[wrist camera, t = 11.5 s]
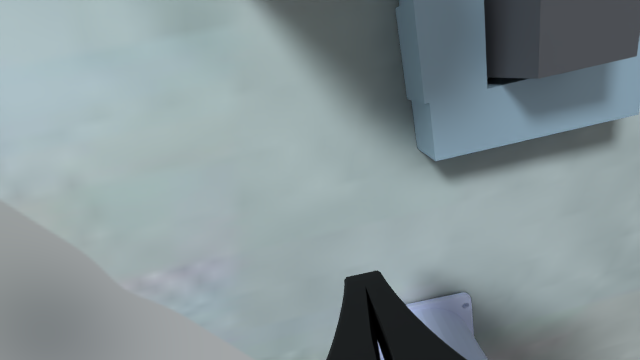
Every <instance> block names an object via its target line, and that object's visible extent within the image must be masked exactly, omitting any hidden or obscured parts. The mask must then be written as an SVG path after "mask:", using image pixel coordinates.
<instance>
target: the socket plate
mask: <svg viewBox="0 0 640 360" xmlns="http://www.w3.org/2000/svg"><path fill="white" fill-rule="evenodd" d="M395 10H396V18H397V26H398V33H399V41H400V49H401V56H402V64H403V72H404V79H405V87H406V95H407V99H409V100H411V102H412V110H413V118H414V126H415V134H416V141H417V148H418V149H419V150H420V151H422V152H423V153H425V154H426V155H428V156H429V157H430V158H432V159H433V160H435V161H439V160H443V159H448V158H452V157H456V156H461V155H465V154H469V153H474V152H478V151H482V150H487V149H491V148H495V147H500V146H504V145H508V144H513V143H517V142H521V141H526V140H530V139H534V138H538V137H543V136H547V135H551V134H556V133H560V132H564V131H569V130H573V129H577V128H582V127H586V126H590V125H595V124H599V123H603V122H608V121H612V120H616V119H620V118H625V117H629V116H633V115H638V114H639V107H640V36H639V43H638V51H637V56H636V57H632V58H627V59H623V60H619V61H614V62H610V63H605V64H601V65H597V66H592V67H588V68H583V69H579V70H575V71H570V72H566V73H562V74H557V75H553V76H548V77H544V78H540V79H529V78H496V77H495V78H491V79H487V66H486V40H485V14H484V0H399V6H398V7H397V8H396V9H395Z"/></svg>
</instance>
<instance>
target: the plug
mask: <svg viewBox="0 0 640 360" xmlns="http://www.w3.org/2000/svg"><path fill="white" fill-rule="evenodd" d="M484 14H485V40H486V66H487V77H496V78H529V79H540V78H544V77H548V76H553V75H557V74H562V73H566V72H570V71H575V70H579V69H583V68H588V67H592V66H597V65H601V64H605V63H610V62H614V61H619V60H623V59H627V58H632V57H636V56H637V51H638V43H639V36H640V0H484Z"/></svg>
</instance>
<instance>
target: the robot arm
mask: <svg viewBox="0 0 640 360" xmlns="http://www.w3.org/2000/svg"><path fill="white" fill-rule="evenodd" d="M344 283H345V286H344V296H343V303H342V308H341V312H340V317H339V321H338V325H337V329H336V332H335V336H334V339H333V342H332V345H331V348H330V351H329V354H328V357H327V359H326V360H488V359H487V357H486V355H485V354H484V352H483V351H482V349H481V347H480V346H479V344H478V343H477V341H476V339H475V338H474V329H473V315H472V302H471V297H470V295H469V294H468V293H465V292H463V293H458V294H453V295H448V296H443V297H439V298H434V299H429V300H424V301H420V302H415V303H410V304H404V303H403V301H402V300H401V299H400V298H399V297H398V296H397V295H396V293H395V292H394V291H393V290H392V288H391V287H390V286H389V284H388V283H387V282H386V280H385V279H384V277H383V276H382V274H381V272H379V271H373V272H368V273H364V274H359V275H354V276H350V277H346V279H345V280H344ZM464 303H465V304H464ZM463 304H464V305H463Z"/></svg>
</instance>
